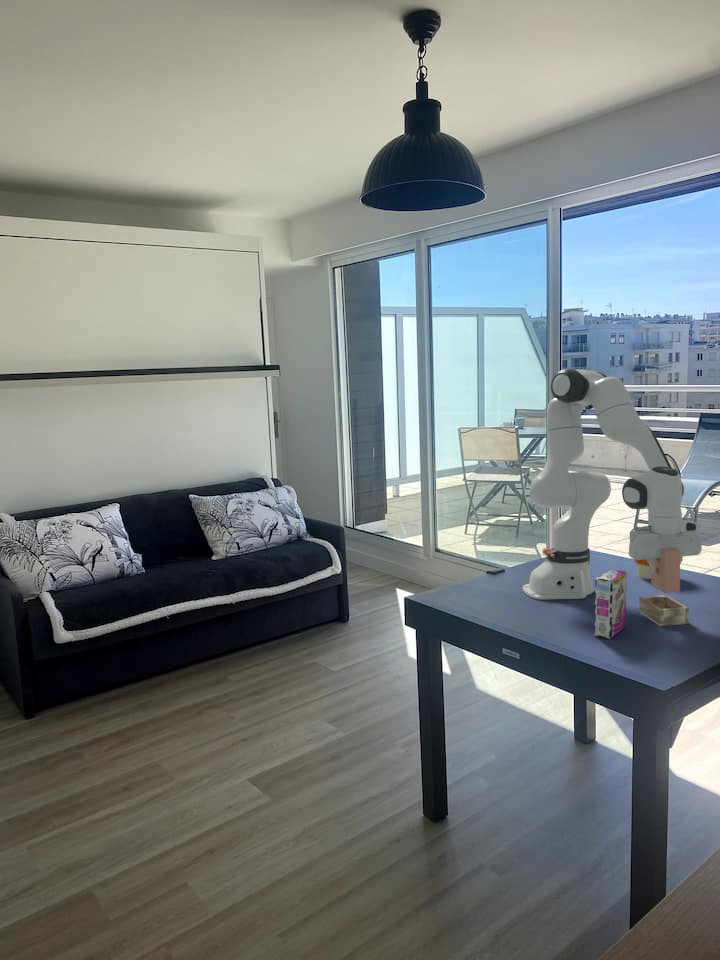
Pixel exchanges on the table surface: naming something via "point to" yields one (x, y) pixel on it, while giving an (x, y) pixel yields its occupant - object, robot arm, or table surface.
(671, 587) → the peach block
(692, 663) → the table surface
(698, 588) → the table surface
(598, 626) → the candy bar box
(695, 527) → the robot arm
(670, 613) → the slot holder
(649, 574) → the reusable coffee cup
